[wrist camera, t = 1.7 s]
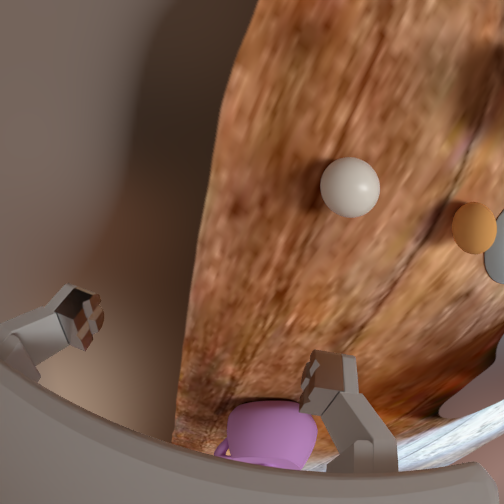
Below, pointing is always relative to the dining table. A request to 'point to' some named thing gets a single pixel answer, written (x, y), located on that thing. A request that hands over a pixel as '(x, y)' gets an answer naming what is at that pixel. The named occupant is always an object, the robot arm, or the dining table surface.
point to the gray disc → (496, 253)
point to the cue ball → (350, 187)
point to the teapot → (269, 435)
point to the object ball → (474, 228)
